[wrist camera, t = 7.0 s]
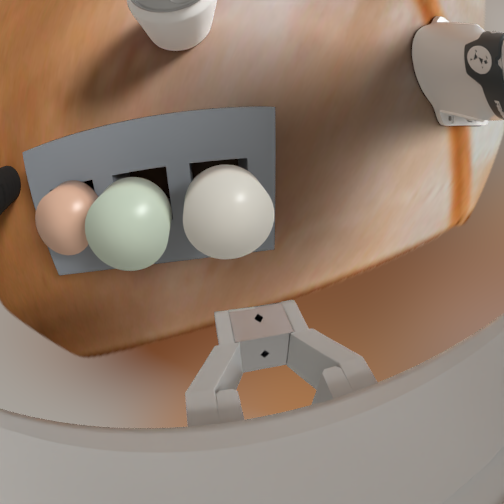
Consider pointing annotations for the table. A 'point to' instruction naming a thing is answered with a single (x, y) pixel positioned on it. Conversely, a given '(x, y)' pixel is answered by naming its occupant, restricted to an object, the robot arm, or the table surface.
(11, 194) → the drinking cup
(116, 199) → the knob mid
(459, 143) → the table surface
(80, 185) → the knob
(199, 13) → the can
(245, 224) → the knob
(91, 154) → the mount
